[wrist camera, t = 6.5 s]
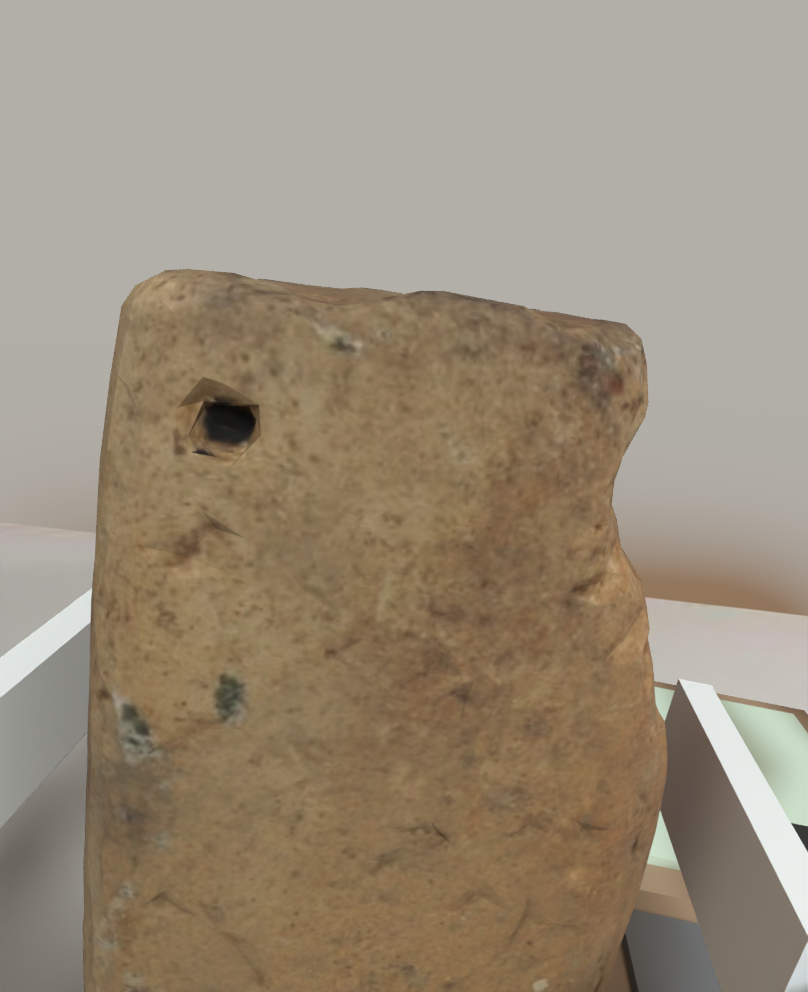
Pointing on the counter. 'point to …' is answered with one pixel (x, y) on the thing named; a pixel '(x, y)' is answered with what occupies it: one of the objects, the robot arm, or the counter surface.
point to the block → (364, 646)
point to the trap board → (663, 894)
